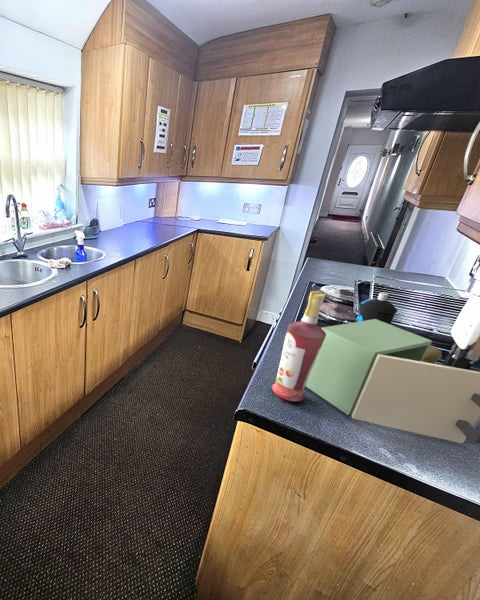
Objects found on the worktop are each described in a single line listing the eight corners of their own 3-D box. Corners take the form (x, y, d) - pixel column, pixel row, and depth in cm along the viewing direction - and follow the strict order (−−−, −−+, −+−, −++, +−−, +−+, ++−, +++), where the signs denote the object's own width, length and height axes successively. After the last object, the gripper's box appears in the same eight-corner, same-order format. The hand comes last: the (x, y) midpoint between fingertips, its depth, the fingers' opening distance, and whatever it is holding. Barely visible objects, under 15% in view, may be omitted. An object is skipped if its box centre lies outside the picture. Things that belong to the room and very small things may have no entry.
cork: (433, 390, 85) (452, 355, 80) (404, 386, 87) (422, 350, 82) (420, 377, 90) (437, 342, 86) (393, 372, 92) (408, 339, 88)
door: (479, 463, 64) (525, 394, 57) (360, 434, 70) (390, 369, 64) (459, 441, 69) (499, 375, 63) (351, 415, 76) (377, 353, 69)
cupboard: (403, 400, 81) (432, 340, 75) (348, 415, 76) (374, 352, 69) (353, 373, 92) (375, 318, 85) (302, 384, 86) (321, 327, 80)
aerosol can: (382, 354, 101) (408, 295, 93) (370, 362, 97) (396, 301, 89) (351, 343, 107) (373, 286, 99) (339, 349, 103) (360, 291, 95)
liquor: (310, 405, 79) (347, 299, 67) (280, 406, 78) (312, 300, 67) (291, 386, 85) (323, 286, 74) (263, 386, 85) (291, 287, 74)
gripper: (548, 310, 53) (488, 401, 60) (515, 287, 64) (468, 366, 71) (480, 298, 57) (431, 384, 64) (460, 278, 68) (420, 354, 75)
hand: (450, 374), depth 67 cm, fingers closed
